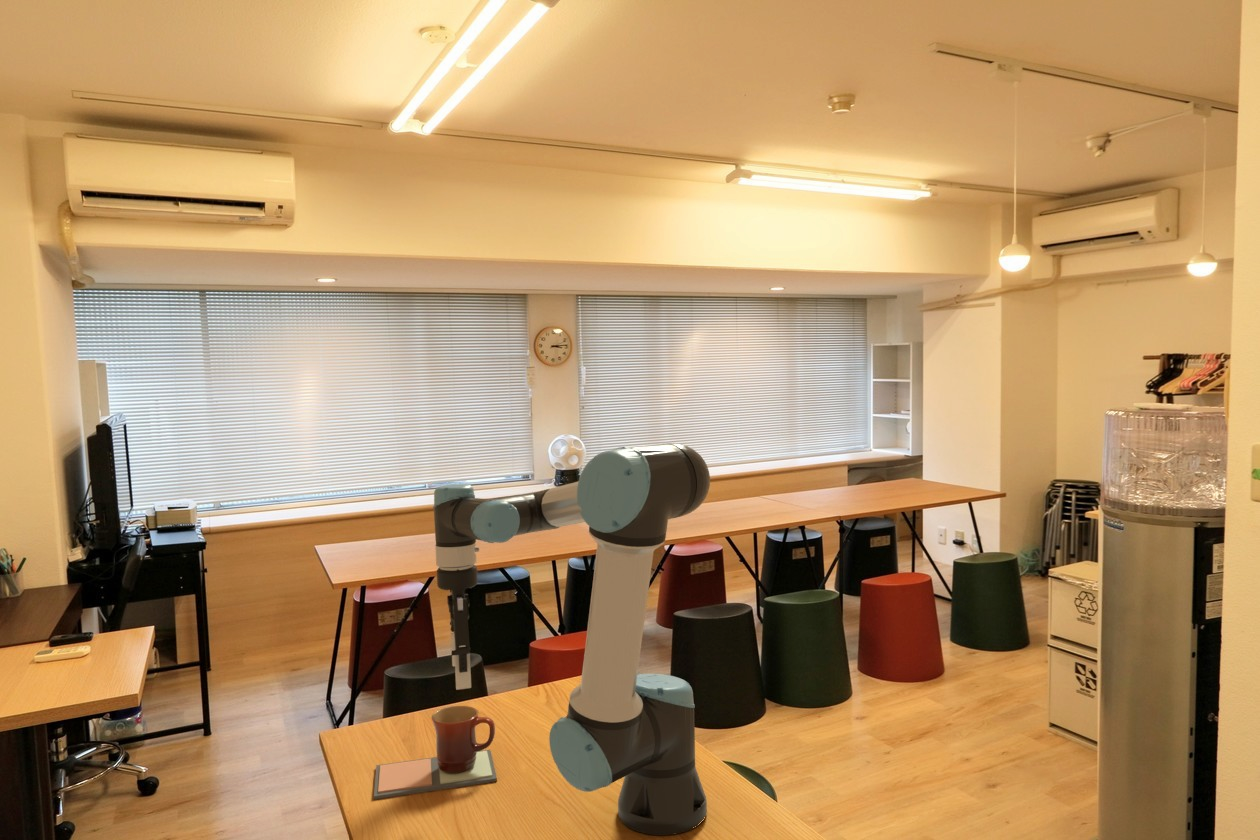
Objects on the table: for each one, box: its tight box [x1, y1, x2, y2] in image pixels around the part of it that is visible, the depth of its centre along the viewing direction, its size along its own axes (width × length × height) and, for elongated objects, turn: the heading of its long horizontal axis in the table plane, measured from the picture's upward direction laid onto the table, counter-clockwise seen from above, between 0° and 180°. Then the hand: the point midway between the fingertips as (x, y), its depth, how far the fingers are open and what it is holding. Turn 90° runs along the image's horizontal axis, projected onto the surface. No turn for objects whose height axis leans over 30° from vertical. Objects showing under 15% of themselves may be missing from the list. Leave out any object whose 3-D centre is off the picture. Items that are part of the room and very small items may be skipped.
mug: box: [431, 705, 496, 774], centre depth 161 cm, size 12×9×10 cm
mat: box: [373, 749, 498, 800], centre depth 160 cm, size 13×22×1 cm, turn 105°
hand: (461, 676), depth 161 cm, fingers open, 13 cm apart
